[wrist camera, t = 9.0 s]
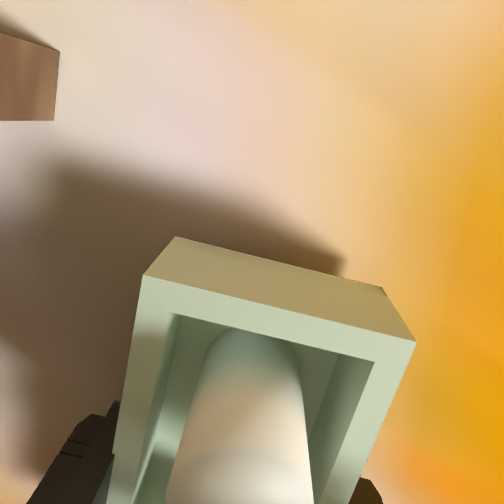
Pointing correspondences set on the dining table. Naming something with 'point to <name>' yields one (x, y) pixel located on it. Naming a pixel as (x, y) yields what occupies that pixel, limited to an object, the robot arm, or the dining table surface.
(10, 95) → the brown wooden side table
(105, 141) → the dining table surface
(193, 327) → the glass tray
